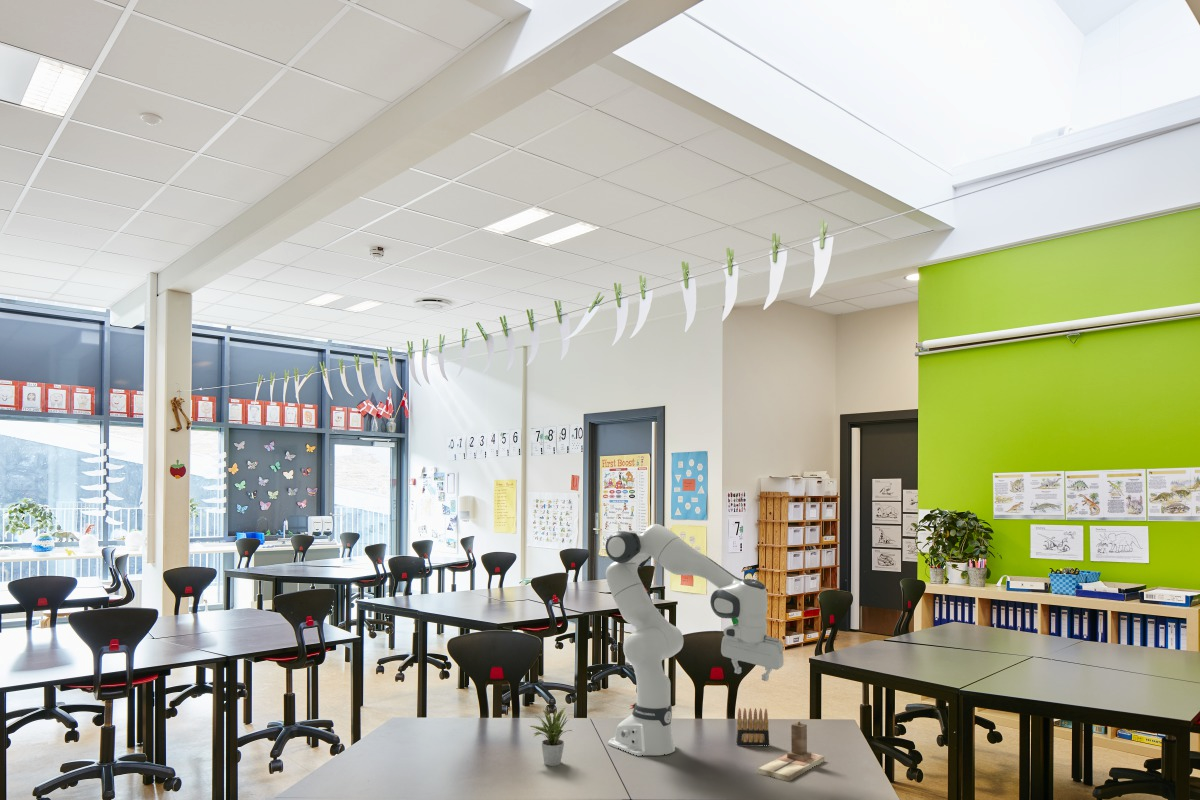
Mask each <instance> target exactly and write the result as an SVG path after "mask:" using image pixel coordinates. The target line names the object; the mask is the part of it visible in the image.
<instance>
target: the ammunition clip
mask: <svg viewBox="0 0 1200 800" xmlns="http://www.w3.org/2000/svg"><path fill="white" fill-rule="evenodd" d="M742 714H743V715H742ZM768 716H769V715H768V709H767V708H765V709H764V712H763V710H762V708H759V711H757V708H756V707H755V708H754V711H753V712H752V708H751V707H750V708H749V709H748V715H747V708H746V707H744V708H743V712H742V710H741V708H740V707H739V708H738V710H737V720H736V743H737V744H736V746H737V745H763V746H762V747H769V746H770V733H769V732H770V731H769V717H768ZM764 745H765V746H764ZM766 745H767V746H766ZM768 745H769V746H768Z"/></svg>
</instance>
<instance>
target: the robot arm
mask: <svg viewBox="0 0 1200 800" xmlns="http://www.w3.org/2000/svg"><path fill="white" fill-rule="evenodd" d="M605 552H606V555H607V557H609V559H610V560H612V561H613V562H612V563H610V564H609V565H608V566H607V568H606V570H605V577H606V578H605V579H606V582H607V585H608V587H609V590H610V593H611V595H612V598H613V600H614V602H615V604H616V606H617V609H618V610H619V612H620V615H621V617H622V619H623V620H624V621H625V622H627V623H629V624H630V625H632V626H633V628H635V629H636V630H635V631H633V632H632V633H630V634H628V636H626V637H625V639H624V641H623V644H622V649H623V650H622V651H623V654H624V656H625V659H627V661H628V662H629V663H630V664H631V666H632V668H633V670H634V675H635V679H636V702H635V703H633V704H632V705H630V707H629V710H632V713H631V714H630V715H629V716H627V717H626V718H625V719H623V720H622V721H621V722H619V723H618V725H617V727H616V730H615V735H614V736H613V737H612V738H610V739H609V740H608V744H607V745H608V746H611V747H613V748H615V749H618V748H619V749H618V750H620V749H621V750H620V751H623V750H624V752H625V751H626V753H628V752H629V753H628V754H630V753H631V755H633V754H634V755H633V756H636V755H637V757H638V756H639V757H642V755H643V756H665V755H668V754H672V753H674V752H675V751H676V746H675V743H674V739H673V738H674V737H673V733H672V717H673V714H672V713H673V710H672V704H671V680H670V678H669V677H668V676H667V675H666V674H665V672H664V668H663V663H662V662H663V660H666V659H667V660H668V659H669V658H672V657H673V656H675V655H676V654H678V653H679V652H681V650H682V649H683V646H684V640H685V639H684V636H683V633H682V631H681V630H680V629H679V628H678V627H677V626H675V625H674V624H672V623H671V622H669V621H668V620H667V619H666V618H665V617H664V616H663V614H661V612H660V611H659V610H658V609H657V607H656V606H655V604H654V602H653V601H652V600H651V597H650V595H649V593H648V592H647V590H646V588H645V586H644V584H643V581H642V580H641V578H640V575H639V573H638V570H639V569H643V567H644V566H645V565H646V564H647V563H648V562H649V561H650V559H654V560H655V561H656V563H658V564H660V566H661V567H663V568H664V569H665V570H666V571H667V572H669V573H671V574H673V575H677V576H696V577H700V578H703V579H705V580H707V581H708V582H710V583H711V584H713V585H714V586H715V587H717V589H716V590H714V591H713V592H712V593H711V596H710V607H711V610H712V612H713V613H714V614H715V615H716V616H717V617H719V618H722V619H737V621H738V622H737V623H735V624H732V625H729V626H727V627H725V628H723V635H724V636H723V637H722V638H721V639H722V640H721V647H720V653H721V655H722V657H725V658H729V659H731V663H732V666H733V668H734V674H737V675H740V674H741V673H742V667H741V666H740V665H739V663H738V662H743V663H744V662H745V663H748V664H752V665H755V666H760V667H762V668H763V667H764V670H765V671H766V672H764V673H763V674H761V680H762V681H765V682H768V681H769V675H770V674H771V672H772V671H773V670H775V671H778V670H780V669H782V667H783V666H784V665H785V663H784V653H783V651H784V643H783V642H782V641H781V640H780V639H779V638H777V637H772V636H770V635H769V636H768V621H767V613H768V592H767V588H766V586H765V584H764V583H763V582H761V581H759V580H757V579H754V578H744V579H743V578H740V577H737V576H735V575H734V574H732V573H731V572H730V571H728V570H726V568H724V567H722V566H721V565H720V564H718V563H717V561H716V562H715V560H713V559H711V558H710V557H708V556H707V555H705V554H703V553H701V552H700V551H698V550H697V549H695V548H694V547H692V546H691V545H690V544H689V543H687V542H686V541H684V539H682V538H681V536H679V535H677V534H676V533H675V532H673V531H672V530H670V528H667V527H665V526H663V525H662V524H658V523H653V524H650V525H649V526H648V527H646V528H645V530H644V531H643V532H640V531H633V530H628V531H626V530H620V531H616V532H614V533H612V534H610V535H609V536H608V538H607V539H606V542H605ZM664 754H665V755H664Z"/></svg>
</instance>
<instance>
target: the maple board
mask: <svg viewBox="0 0 1200 800" xmlns="http://www.w3.org/2000/svg"><path fill="white" fill-rule="evenodd" d="M823 761H824V762H825V756H824V755H821V754H817V753H812V752H811V758H809V759H808V760H806V761H804V762H802V761H798V760H794V759H790V758H787V753H785V754H783V755H781V756H780V757H778V758H776V759H774V760H771V761H770V762H767V763H766V764H764V765H761V766H760V767H758V768H757V772H758V774H759V775H763V776H767V777H770V776H771V778H774V777H775V778H774V779H778V780H782V781H785V782H790V781H792V780H794V779H795V778H797V777H798V775H799V776H801V775H802V774H805V773H806V772H807V770H808V771H809V769H810V770H811V769H813V768H815V767H817V766H818V765H820V764H822V763H824V762H823ZM821 762H822V763H821ZM816 765H817V766H816ZM814 766H815V767H814ZM812 767H813V768H812ZM805 771H806V772H805ZM800 774H801V775H800ZM793 778H794V779H793Z"/></svg>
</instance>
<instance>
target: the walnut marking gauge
mask: <svg viewBox="0 0 1200 800" xmlns="http://www.w3.org/2000/svg"><path fill="white" fill-rule="evenodd" d="M790 727H791V730H790V731H791V736H790V737H791V743H790V744H791V750H790V751H788V752H786V754H787V758H790V759H794V760H798V761H802V762H804V761H806V760H808V759H809V758H811V753H812V752H811V751H808V734H807V733H808V729H807V728H808V726H807V723H806V724H805V723H801V720H797V721H796V722H794V723H792V724H791V726H790Z"/></svg>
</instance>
